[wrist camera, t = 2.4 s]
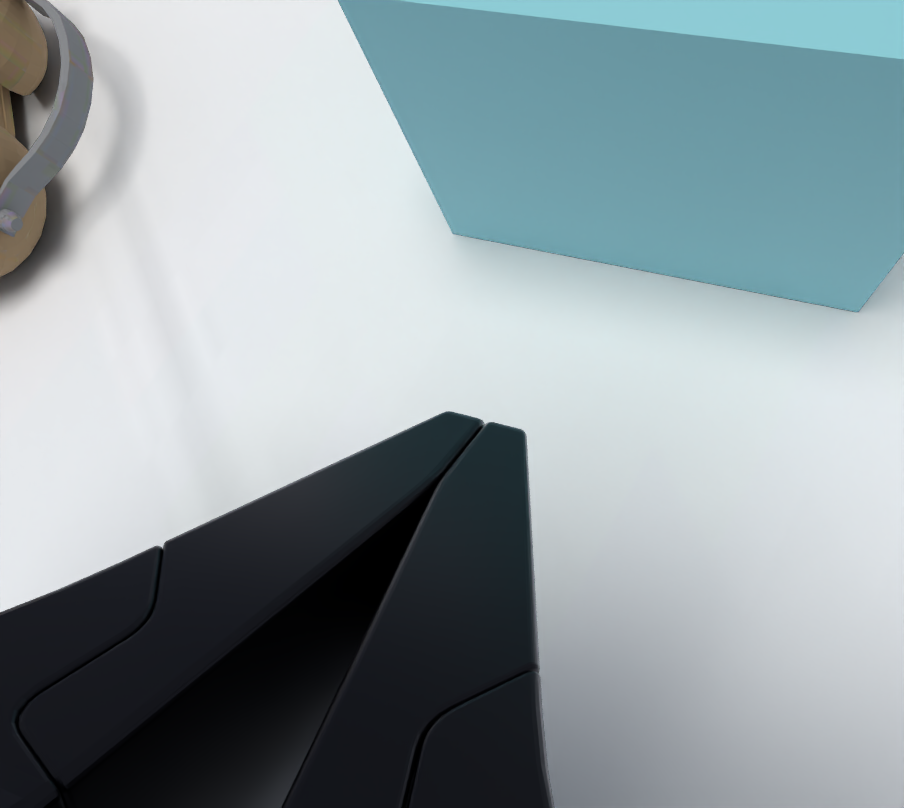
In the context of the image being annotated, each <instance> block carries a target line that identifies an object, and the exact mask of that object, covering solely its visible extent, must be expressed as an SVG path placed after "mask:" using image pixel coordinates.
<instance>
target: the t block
mask: <svg viewBox="0 0 904 808" xmlns="http://www.w3.org/2000/svg"><path fill="white" fill-rule="evenodd" d="M338 2H339V4H340V6H341V8H342V10H343V12H344V14H345V16H346V18H347V20H348V22H349V24H350V26H351V28H352V30H353V32H354V34H355V36H356V38H357V40H358V42H359V44H360V46H361V48H362V50H363V52H364V54H365V56H366V58H367V61H368V63H369V65H370V67H371V69H372V71H373V73H374V75H375V77H376V79H377V81H378V83H379V85H380V87H381V89H382V91H383V93H384V95H385V97H386V99H387V101H388V103H389V105H390V107H391V109H392V111H393V113H394V115H395V117H396V119H397V121H398V123H399V125H400V127H401V129H402V132H403V134H404V136H405V138H406V140H407V142H408V144H409V146H410V148H411V150H412V152H413V154H414V156H415V158H416V160H417V162H418V164H419V166H420V168H421V170H422V172H423V174H424V176H425V178H426V180H427V182H428V184H429V186H430V188H431V190H432V192H433V194H434V196H435V198H436V200H437V203H438V205H439V207H440V209H441V211H442V213H443V215H444V217H445V219H446V221H447V223H448V225H449V227H450V229H451V231H452V233H453V234H457V235H462V236H467V237H473V238H478V239H483V240H488V241H493V242H498V243H504V244H509V245H514V246H519V247H524V248H529V249H534V250H540V251H545V252H550V253H555V254H560V255H565V256H571V257H576V258H581V259H586V260H591V261H596V262H601V263H607V264H612V265H617V266H622V267H627V268H632V269H638V270H643V271H648V272H653V273H658V274H663V275H668V276H674V277H679V278H684V279H689V280H694V281H699V282H705V283H710V284H715V285H720V286H725V287H730V288H736V289H741V290H746V291H751V292H756V293H761V294H766V295H772V296H777V297H782V298H787V299H792V300H797V301H803V302H808V303H813V304H818V305H823V306H828V307H833V308H839V309H844V310H849V311H854V312H859V310H860V309H861V308H862V306H863V305H864V304H865V302H866V301H867V300H868V299H869V297H870V296H871V295H872V293H873V292H874V291H875V290H876V288H877V287H878V286H879V284H880V283H881V282H882V281H883V279H884V278H885V277H886V275H887V274H888V273H889V271H890V270H891V269H892V268H893V266H894V265H895V264H896V262H897V261H898V260H899V259H900V257H901V256H902V255H903V253H904V0H338Z"/></svg>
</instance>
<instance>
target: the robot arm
mask: <svg viewBox="0 0 904 808" xmlns="http://www.w3.org/2000/svg"><path fill="white" fill-rule="evenodd" d="M539 669H540V668H539V650H538V632H537V615H536V597H535V579H534V561H533V544H532V526H531V508H530V490H529V473H528V455H527V438H526V434H525V432H524V431H523V430H521V429H518V428H514V427H510V426H506V425H502V424H498V423H494V422H489V423H486V424H484V422H483V421H482V420H481V419H478V418H474V417H471V416H467V415H463V414H459V413H455V412H450V411H448V412H444V413H441V414H439V415H437V416H435V417H432V418H430V419H428V420H426V421H424V422H422V423H420V424H417V425H415V426H413V427H411V428H409V429H407V430H405V431H402V432H400V433H398V434H396V435H394V436H392V437H389V438H387V439H385V440H383V441H381V442H379V443H377V444H374V445H372V446H370V447H368V448H366V449H364V450H361V451H359V452H357V453H355V454H353V455H351V456H349V457H346V458H344V459H342V460H340V461H338V462H336V463H334V464H331V465H329V466H327V467H325V468H323V469H321V470H318V471H316V472H314V473H312V474H310V475H308V476H306V477H303V478H301V479H299V480H297V481H295V482H293V483H290V484H288V485H286V486H284V487H282V488H280V489H278V490H275V491H273V492H271V493H269V494H267V495H265V496H263V497H260V498H258V499H256V500H254V501H252V502H250V503H247V504H245V505H243V506H241V507H239V508H237V509H235V510H232V511H230V512H228V513H226V514H224V515H222V516H219V517H217V518H215V519H213V520H211V521H209V522H207V523H204V524H202V525H200V526H198V527H196V528H194V529H192V530H189V531H187V532H185V533H183V534H181V535H179V536H176V537H174V538H172V539H170V540H168V541H166V542H165V543H164V546H163V549H162V547H160V546H154V547H152V548H150V549H148V550H146V551H144V552H141V553H139V554H137V555H135V556H133V557H131V558H128V559H126V560H124V561H122V562H120V563H118V564H115V565H113V566H111V567H109V568H106V569H104V570H102V571H99V572H97V573H95V574H93V575H90V576H88V577H86V578H83V579H81V580H79V581H77V582H74V583H72V584H70V585H68V586H65V587H63V588H61V589H58V590H56V591H53V592H51V593H48V594H46V595H43V596H41V597H38V598H36V599H33V600H30V601H28V602H25V603H23V604H20V605H18V606H15V607H13V608H10V609H8V610H5V611H3V612H0V808H554V803H553V797H552V791H551V785H550V779H549V773H548V765H547V755H546V745H545V735H544V725H543V714H542V696H541V679H540V675H539Z"/></svg>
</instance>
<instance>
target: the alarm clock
mask: <svg viewBox="0 0 904 808" xmlns="http://www.w3.org/2000/svg"><path fill="white" fill-rule="evenodd" d="M27 3H29V4H30V5H31V6H32V7H33V8H34V9H36V10H37V11H38V12H39V13H41V14H42V15H43V16H46V17H48V18H51V19H52V21H53V24H54V27H55V31H56V34H57V37H58V40H59V47H60V56H61V69H60V78H59V86H58V90H57V94H56V98H55V101H54V105H53V109H52V112H51V114H50V116H49V118H48V120H47V122H46V125H45V127H44V129H43V131H42V133H41V134H40V136H39V137H38V139H37V140H36V142H35V143H34V144H33V146H32V147H31V149H30V150H29V151H28V150H27V149H26V148H25V147H24V146H23V145H22V144H21V143H20V142H19V141H18V140H17V139H16V138H15V127H14V120H13V113H12V105H11V98H10V91H13V92H15V93H18V94H20V95H22V96H26V95H30V94H31V93H32V92H33V91H34V90H35V89H36V88H37V87H38V86H39V84H40V82H41V81H42V79H43V78H44V75H45V72H46V69H47V59H48V50H47V42H46V38H45V36H44V33H43V30H42V28H41V26H40V24H39V22H38V20H37V18H36V16H35V14H34V13H33V11H32V10H31V8H30V7H29V5H28V4H27ZM92 89H93V72H92V64H91V57H90V54H89V51H88V48H87V45H86V42H85V39H84V37H83V36H82V34H81V33H80V32H79V31H78V29H77V28H76V27H75V25H74V24H73V23H72V22H71V21H69V20H68V19H67V18H66V17H65V16H64V15H63V14H62V13H61V12H60V11H58V10H57V9H56V8H55V7H54V6H53V5H52V4H51V3H50V2H48V1H47V0H0V277H1V276H3V275H5V274H7V273H9V272H11V271H13V270H14V269H15V268H16V267H18V266H19V265H20V264H21V263H22V262H23V261H24V260H25V259H26V258H27V257H28V256H29V255H30V254H31V252H32V250H33V249H34V247H35V245H36V244H37V242H38V240H39V239H40V237H41V234H42V230H43V227H44V223H45V219H46V191H45V186H46V185H47V184H48V183H49V182H50V181H51V179H52V178H53V177H54V176H55V175H56V174H57V173H58V172H59V171H60V170H61V168H62V167H63V166H64V164H65V163H66V161H67V160H68V158H69V157H70V155H71V154H72V153H73V151H74V149H75V147H76V145H77V143H78V141H79V139H80V137H81V135H82V133H83V131H84V128H85V124H86V121H87V117H88V113H89V109H90V105H91V98H92Z"/></svg>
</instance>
